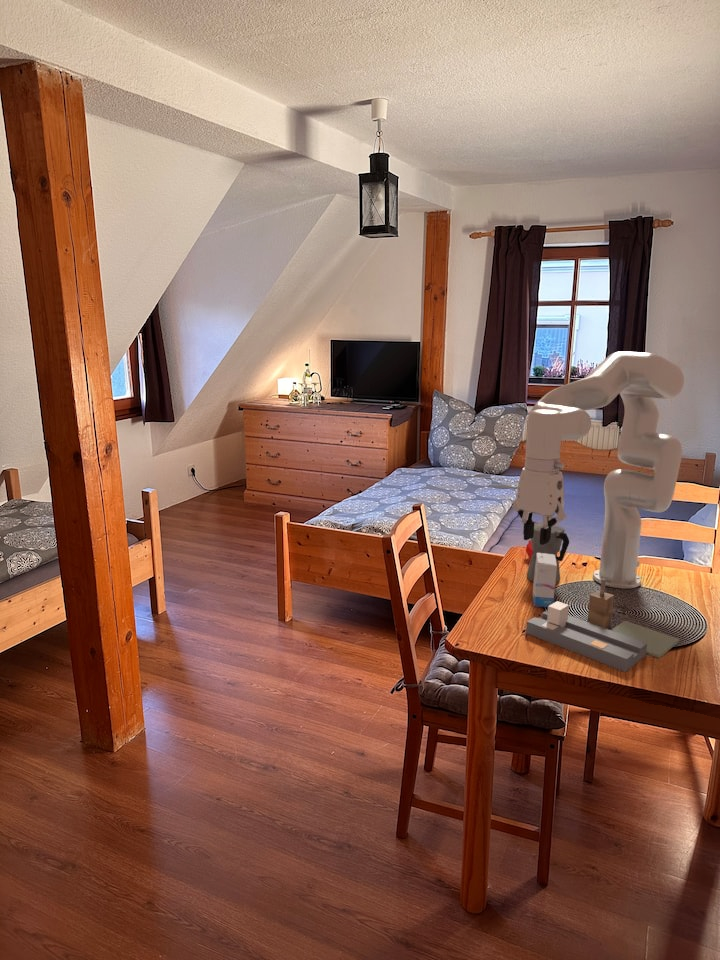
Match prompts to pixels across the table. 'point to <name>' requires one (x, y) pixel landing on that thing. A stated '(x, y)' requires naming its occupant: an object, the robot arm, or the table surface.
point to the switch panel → (590, 641)
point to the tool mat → (648, 638)
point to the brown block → (601, 607)
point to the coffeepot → (548, 547)
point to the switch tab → (558, 613)
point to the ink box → (544, 579)
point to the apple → (529, 550)
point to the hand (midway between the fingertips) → (536, 540)
